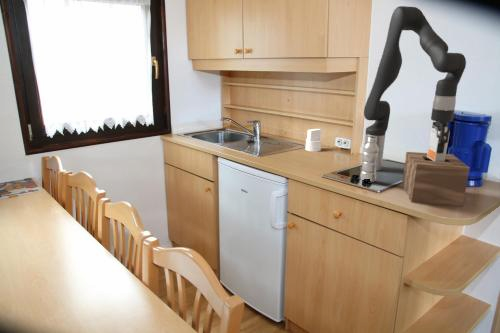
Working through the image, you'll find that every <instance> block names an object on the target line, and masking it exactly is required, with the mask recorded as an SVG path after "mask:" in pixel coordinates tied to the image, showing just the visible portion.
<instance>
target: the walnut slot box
mask: <svg viewBox="0 0 500 333" xmlns="http://www.w3.org/2000/svg"><path fill="white" fill-rule="evenodd" d="M427 153H428V152H415V151H406V152H405V159H404V160H405V162H404V166H403V168H404V169H403V174H402V175H403V176H402V183H401V186H402V188H403V190H404V192H405V194H406V195H407V197H408V199H409V201H410V202H411V203H416V204H417V203H419V204H433V205H440V206H441V205H443V206H451V207H452V206H453V207H455V206H456V207H463V206H464V202H465V195H466V191H467V185H468V180H469V175H470V168H471V167H470V166H468V165H467V164H466V163H464V162H463V161H462V160H461V159H459V158H458V157H456V156H455V155H454V154H451V153H450V154H449V153H446V156H445V161H444V162H440V161H433V160H431V159H429V158H428V157H427Z"/></svg>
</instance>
